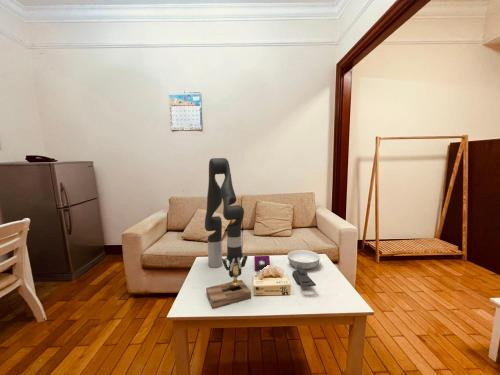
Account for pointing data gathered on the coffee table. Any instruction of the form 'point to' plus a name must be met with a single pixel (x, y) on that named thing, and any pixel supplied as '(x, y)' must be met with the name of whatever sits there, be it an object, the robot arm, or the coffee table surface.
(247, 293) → the keyhole board
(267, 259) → the purple tall block
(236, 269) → the peg
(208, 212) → the robot arm
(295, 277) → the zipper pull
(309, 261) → the serving bowl
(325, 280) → the coffee table surface
